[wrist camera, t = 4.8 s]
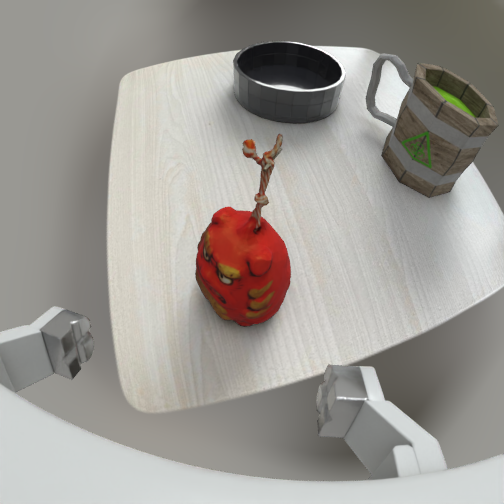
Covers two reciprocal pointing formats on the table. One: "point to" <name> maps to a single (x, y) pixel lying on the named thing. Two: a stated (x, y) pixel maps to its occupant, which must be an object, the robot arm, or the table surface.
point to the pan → (287, 81)
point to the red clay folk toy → (244, 256)
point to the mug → (432, 126)
